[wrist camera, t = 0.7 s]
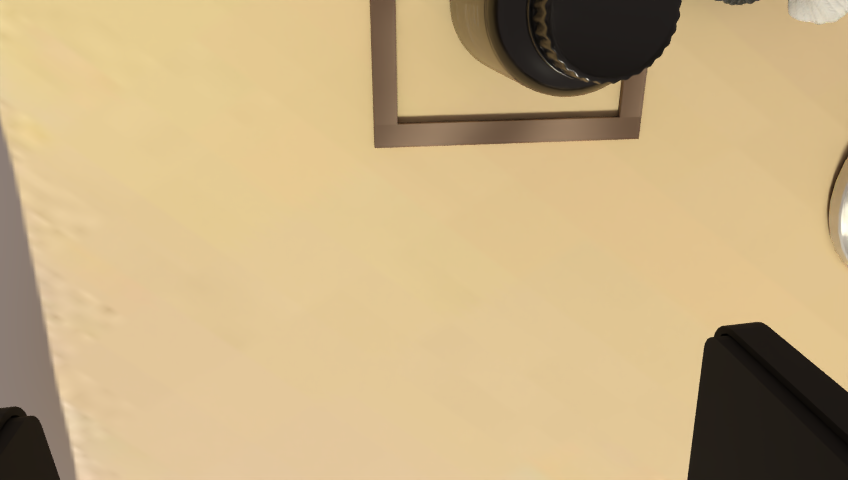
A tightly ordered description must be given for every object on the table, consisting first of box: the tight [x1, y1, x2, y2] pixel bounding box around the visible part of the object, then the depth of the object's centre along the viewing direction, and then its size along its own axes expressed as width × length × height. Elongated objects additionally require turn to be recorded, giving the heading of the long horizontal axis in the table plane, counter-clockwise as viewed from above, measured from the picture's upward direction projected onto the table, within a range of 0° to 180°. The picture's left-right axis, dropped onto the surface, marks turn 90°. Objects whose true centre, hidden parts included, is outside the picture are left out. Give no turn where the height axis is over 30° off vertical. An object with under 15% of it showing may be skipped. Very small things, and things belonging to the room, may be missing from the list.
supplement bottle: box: [450, 0, 682, 97], centre depth 27 cm, size 7×7×12 cm
